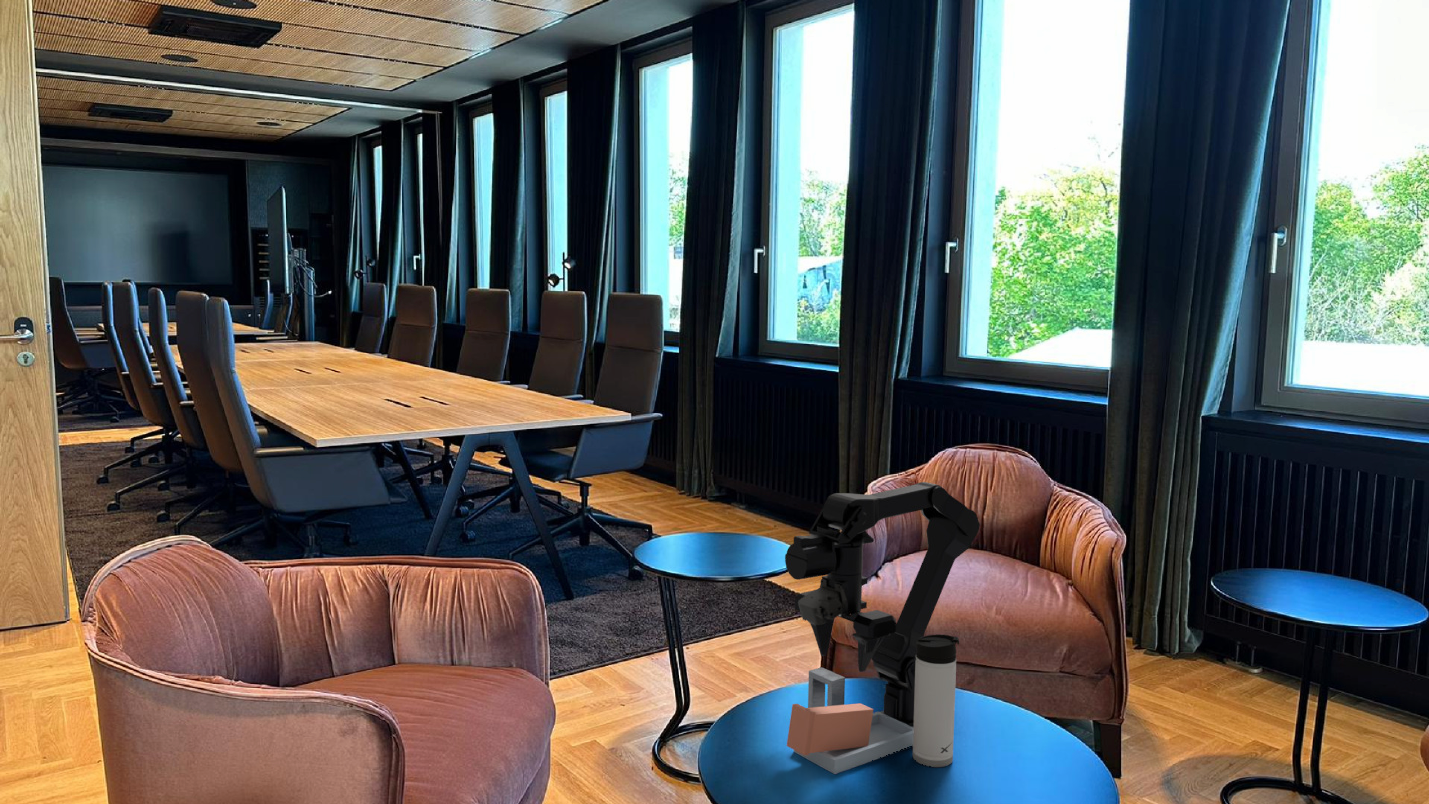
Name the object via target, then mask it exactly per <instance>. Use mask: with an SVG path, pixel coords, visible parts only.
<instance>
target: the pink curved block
mask: <svg viewBox="0 0 1429 804" xmlns="http://www.w3.org/2000/svg"><path fill="white" fill-rule="evenodd" d="M873 713H874V708H871V707H869V706H867V705H864V704H863V703H851V704H849V703H848V704H844V705H836V706H827V705H825V707H813V708H808V707H805V706H803V705H801V704H799V703H792V706H791V713H790V718H789V726H788V734H787V740H786V747H788V748H790V749H791V750H793V751H794V750H795V751H797V752H799V753H801V754H802V755H804V756H805V755H809V753H815V752H823V751H831V750H839V749H848V748H856V747H864V746H868V743H869V736H870V729H871V722H872V716H873Z"/></svg>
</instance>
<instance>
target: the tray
mask: <svg viewBox="0 0 1429 804" xmlns="http://www.w3.org/2000/svg"><path fill="white" fill-rule="evenodd" d="M913 728H914V726H912V725H911V726H909V725H907V724H905V723H903V722H900V721H898V720H896V719H894V718H892V717H889V716H887V715H885V714H883V713H881V711H875V712H873V716H872V722H871V729H870V736H869V743H868V746H864V747H856V748H848V749H839V750H831V751H823V752H815V753H809V755H805V756H804V755H802V754H801V753H799V752H797V751H795V750H793V752H794V753H795V754H798V755H799V756H801V757H802V758H805V759H807V760H808V761H810V762H812V763H813V764H815V765H818V766H819V767H821V768H823V769H824V770H826V771H828V772H830V773H832V774H834V775H836V774H838V773H839V774H840V773H842V772H845V771H848V770H851V769H854V768H856V767H858V766H862V765H865V764H867V763H871V762H873V761H875V760H879V759H881V758H883V757H887V756H889V755H888V754H890V755H892V754H894V753H893V752H895V753H897V752H896V751H898V752H900V750H901V749H903V750H905V749H904V748H906V749H908V748H907V747H909V746H912V747H913ZM909 748H910V747H909ZM901 751H902V750H901ZM886 755H887V756H886ZM880 757H881V758H880ZM872 760H873V761H872Z"/></svg>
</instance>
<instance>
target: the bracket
mask: <svg viewBox="0 0 1429 804" xmlns="http://www.w3.org/2000/svg"><path fill="white" fill-rule="evenodd" d="M807 685H808V688H807V690H808V691H807V693H808V694H807V708H813V707H825V706H836V705H845V696H846V693H845V692H846V677H845V676H843V675H840V674H837V673H835V672H834V671H832V670H829V669H826V668H824V667H817V668H814V669H811V670H808V684H807ZM826 685H827V694H826ZM826 696H827V697H826ZM826 698H827V700H826ZM826 701H827V702H826Z"/></svg>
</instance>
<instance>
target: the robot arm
mask: <svg viewBox="0 0 1429 804" xmlns="http://www.w3.org/2000/svg"><path fill="white" fill-rule="evenodd" d="M918 511H920V513H921V515H922V516H923V517H924V519H926V520H927V522H928V524H927V526H926V527H927V528H926V532H925V533H926V538H927V539H926V540H927V550H926V553H925V555H924V556H923V560H922V562H921V565H920V567H919V570H918V572H917V574H916V576H915V578H914V581H913V584H912V586H911V589H910V592H909V594H908V596H907V598H906V601H905V603H904V604H903V607H902V610H901V612H900V614H899V617H898V618H897V619H898V620H897V619H896V618H895V616H894V615H893V614H890V613H888V612H885V611H882V610H879V609H875V610H871V611H867V612H866V611H865V612H861V611H862V610H865V609H867V607H868V606H867V605H868V602H867V601H864V600H862V593H863V585H868V577H866V576H863V562H864V561H863V558H864V557H863V556H864V555H863V554H864V551H863V549H864V545H867V544H872V543H873V542H874V541H875V540H874V538H873V537H872V536H871V535H870V534H869V533H868V532H867V531H868V530H870V529H872V528H874V527H875V526H876V525H877V523H878V522H879V521H881V520H884V519H889V518H892V517H893V518H894V517H897V516H902V515H905V514H910V513H914V512H918ZM980 526H981V523H980V521H979V517H978V515H977V512H975V511H974V510H972V509H970V508H968V507H967V506H966V505H965V504H964V503H962V502H961V501H959V500H958V499H956V498H955V497H953V496H952V495H951V494H950V493H948V491H947V490H946V489H945V488H944V487H942V485H940V484H936V483H932V482H927V481H921V482H918V483H915V484H912V485H907V486H902V487H899V488H894V489H890V490H885V491H879V492H875V493H870V494H860V493H852V492H851V493H847V492H843V493H841V492H840V493H838V492H836V493H833V494H831V495H830V494H829V496H827V498H826V501H825V502H824V505H823V507H822V509H821V510H820V512H819V514H818V516H817V517H816V519H815V520H814V523H813V524H812V526H811V527H810V529H809V532H808V533H809V535H796V536H794V537H793V543H792V544H790V546H788V548H787V550H786V553H785V555H784V563H785V567H786V570H787V572H788V574H789V575H790V577H791V578H793V580H805V579H811V578H816V577H821V579H820V586H819V587H818V588H816V589H814V590H809V591H804V592H800V593H798V594H797V596H796V597H795V599H794V610H795V611H796V612H799V615H800V617H801V618H802V620H803V621H807V622H808V623H809V624H810V627H811V628H812V632H813V635H814V637H815V642H816V644H817V647H818V650H819V654H820V656H822V657H824V656H827V655H828V651H829V648H830V644H831V638H832V632H833V629H834V627H833V626H834V621H835V619H836V618H837V617H839V618H841V619H844V620H846V621H849V622H852V623H853V629H854V631H855V632H854V633H852V637H854V639H855V641H856V642H857V666H858V671H859V672H861V673H863V672H865V671H866V670H867V669H868V666H869V664H870V662H871V661H872V664H873V667H874V669H875V670H876V674H877V677H878V679H879V680H883V681H885V682H887V683H885V693H884V695H883V710H882V711H880V712H881V713H883V714H885V715H887V716H889V717H892V718H894V719H896V720H898V721H900V722H903V723H905V724H907V725H909V726H911V727H912V726H914V695H915V663H916V651H917V650H916V644H917V641H918V639H919V638H921V637H924V636H925V633H926V630H927V628H928V627H929V623H930V621H931V618H932V616H933V613H934V611H935V609H936V606H937V603H938V602H939V599H940V596H941V595H942V591H943V590H944V587H945V585H946V582H947V579H948V577H949V575H950V574H951V573H950V572H951V569H952V567H953V565H954V563H955V561H956V559H957V558H958V557H960V556H961V555H963V553H965V552H967V550H969V549H970V547H971V546H972V544H973V542H974V541H975V538H976V537H977V534H978V533H979V530H980ZM829 527H830V528H829ZM833 528H834V529H833ZM836 529H837V530H836ZM838 530H840V531H838Z"/></svg>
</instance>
